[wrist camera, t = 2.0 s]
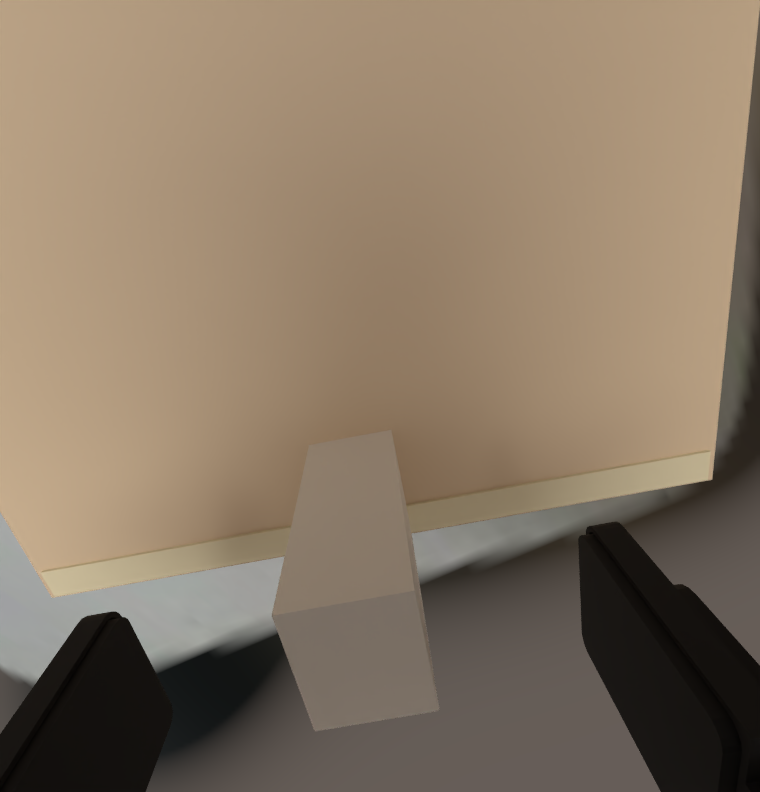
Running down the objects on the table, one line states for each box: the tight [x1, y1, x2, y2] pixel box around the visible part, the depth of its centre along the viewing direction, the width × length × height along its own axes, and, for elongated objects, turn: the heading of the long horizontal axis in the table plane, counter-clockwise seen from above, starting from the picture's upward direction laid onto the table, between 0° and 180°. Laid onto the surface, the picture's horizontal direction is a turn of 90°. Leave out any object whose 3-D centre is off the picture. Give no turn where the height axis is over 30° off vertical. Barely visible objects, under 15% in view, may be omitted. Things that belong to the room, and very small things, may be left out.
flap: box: [0, 0, 760, 731], centre depth 9 cm, size 15×21×7 cm
